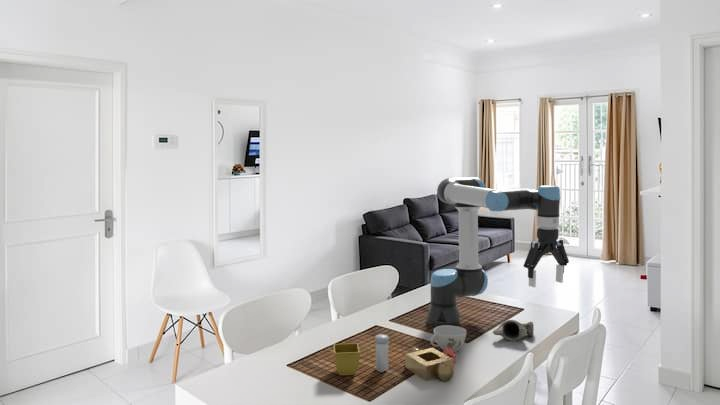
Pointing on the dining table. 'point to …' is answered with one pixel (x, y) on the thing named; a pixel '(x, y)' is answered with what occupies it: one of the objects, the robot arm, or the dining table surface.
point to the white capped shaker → (381, 352)
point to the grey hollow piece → (514, 330)
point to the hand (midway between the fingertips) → (545, 284)
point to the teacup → (449, 337)
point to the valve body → (431, 363)
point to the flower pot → (346, 358)
